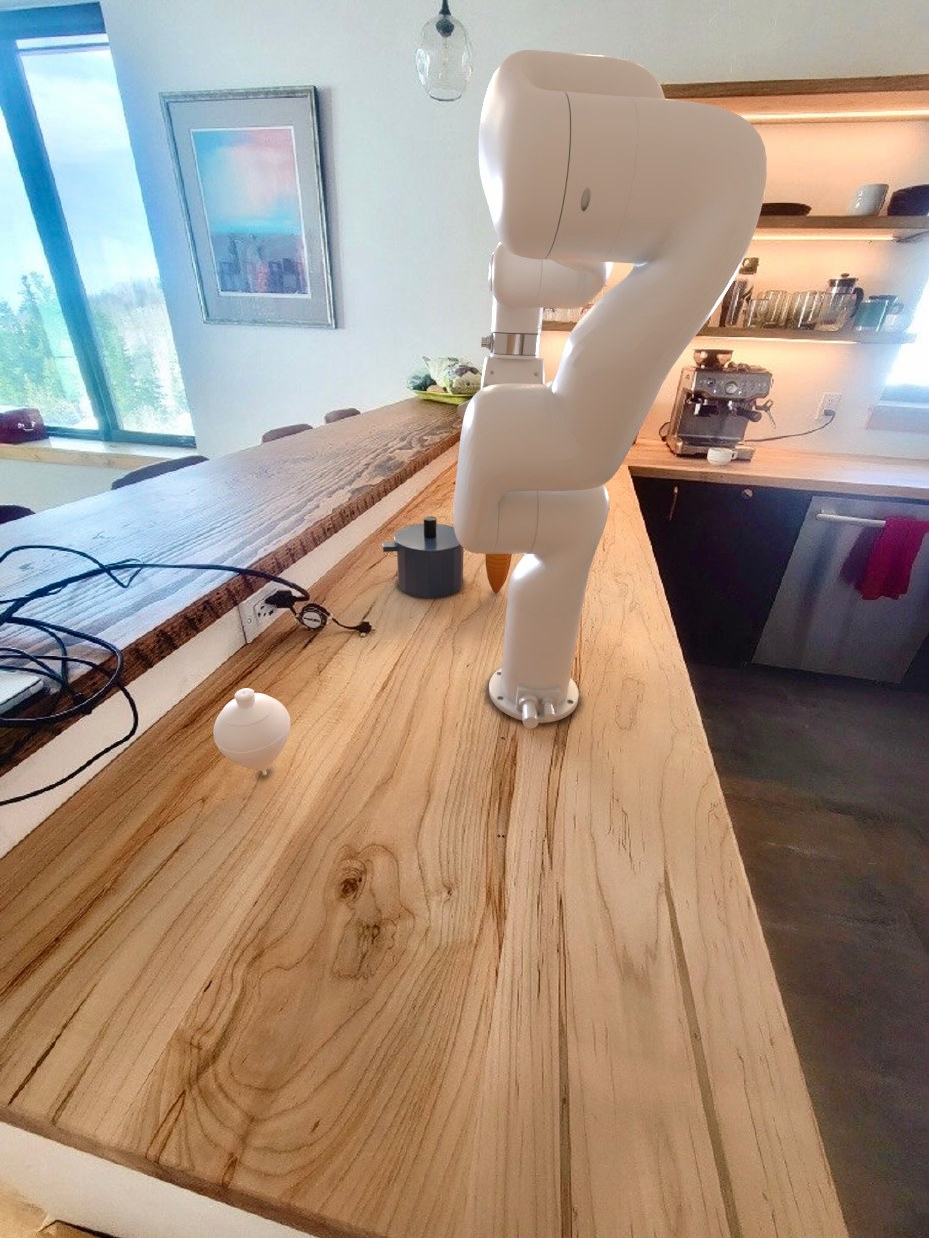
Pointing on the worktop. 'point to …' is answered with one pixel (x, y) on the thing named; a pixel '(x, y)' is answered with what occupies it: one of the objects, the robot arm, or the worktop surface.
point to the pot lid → (427, 537)
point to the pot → (428, 571)
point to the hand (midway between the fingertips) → (506, 461)
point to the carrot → (497, 570)
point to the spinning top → (252, 729)
